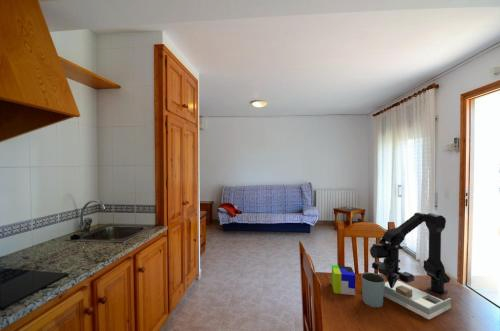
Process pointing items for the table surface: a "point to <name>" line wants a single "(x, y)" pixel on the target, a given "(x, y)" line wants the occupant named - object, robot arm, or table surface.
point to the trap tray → (418, 301)
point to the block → (404, 291)
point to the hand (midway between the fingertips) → (391, 287)
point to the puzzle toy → (343, 280)
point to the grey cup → (373, 289)
